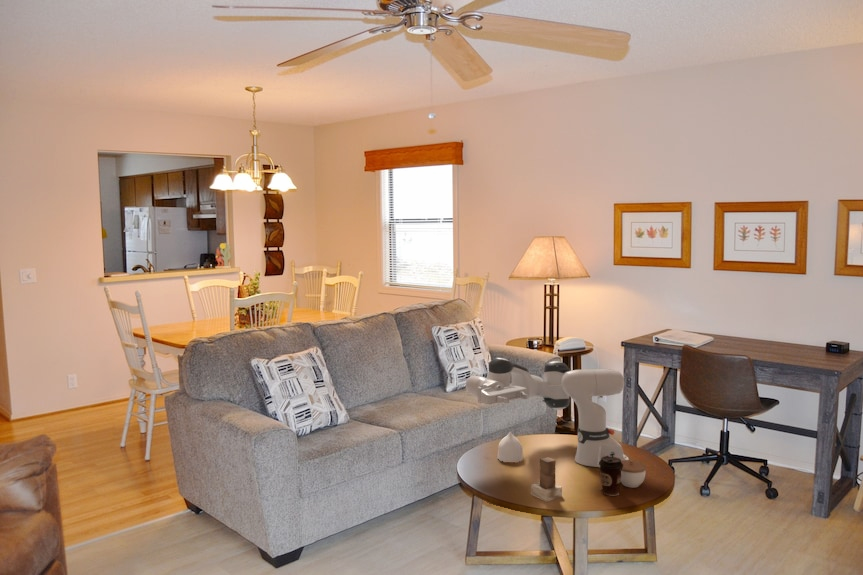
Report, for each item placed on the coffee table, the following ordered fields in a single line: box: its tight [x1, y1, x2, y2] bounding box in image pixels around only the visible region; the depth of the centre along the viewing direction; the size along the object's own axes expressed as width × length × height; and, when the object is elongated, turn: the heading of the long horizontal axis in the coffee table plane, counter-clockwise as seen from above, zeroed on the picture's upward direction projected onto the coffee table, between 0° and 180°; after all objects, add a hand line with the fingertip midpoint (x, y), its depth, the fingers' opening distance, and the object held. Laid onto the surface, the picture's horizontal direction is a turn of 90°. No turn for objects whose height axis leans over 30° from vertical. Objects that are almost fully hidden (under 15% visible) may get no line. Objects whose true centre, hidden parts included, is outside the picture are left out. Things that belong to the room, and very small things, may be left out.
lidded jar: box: [620, 459, 647, 489], centre depth 260 cm, size 11×11×9 cm
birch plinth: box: [530, 481, 563, 502], centre depth 251 cm, size 8×8×4 cm
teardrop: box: [496, 431, 524, 463], centre depth 290 cm, size 11×11×12 cm
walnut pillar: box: [539, 456, 556, 489], centre depth 250 cm, size 4×4×10 cm
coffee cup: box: [599, 456, 623, 497], centre depth 252 cm, size 9×8×13 cm
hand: (516, 398), depth 264 cm, fingers open, 8 cm apart
